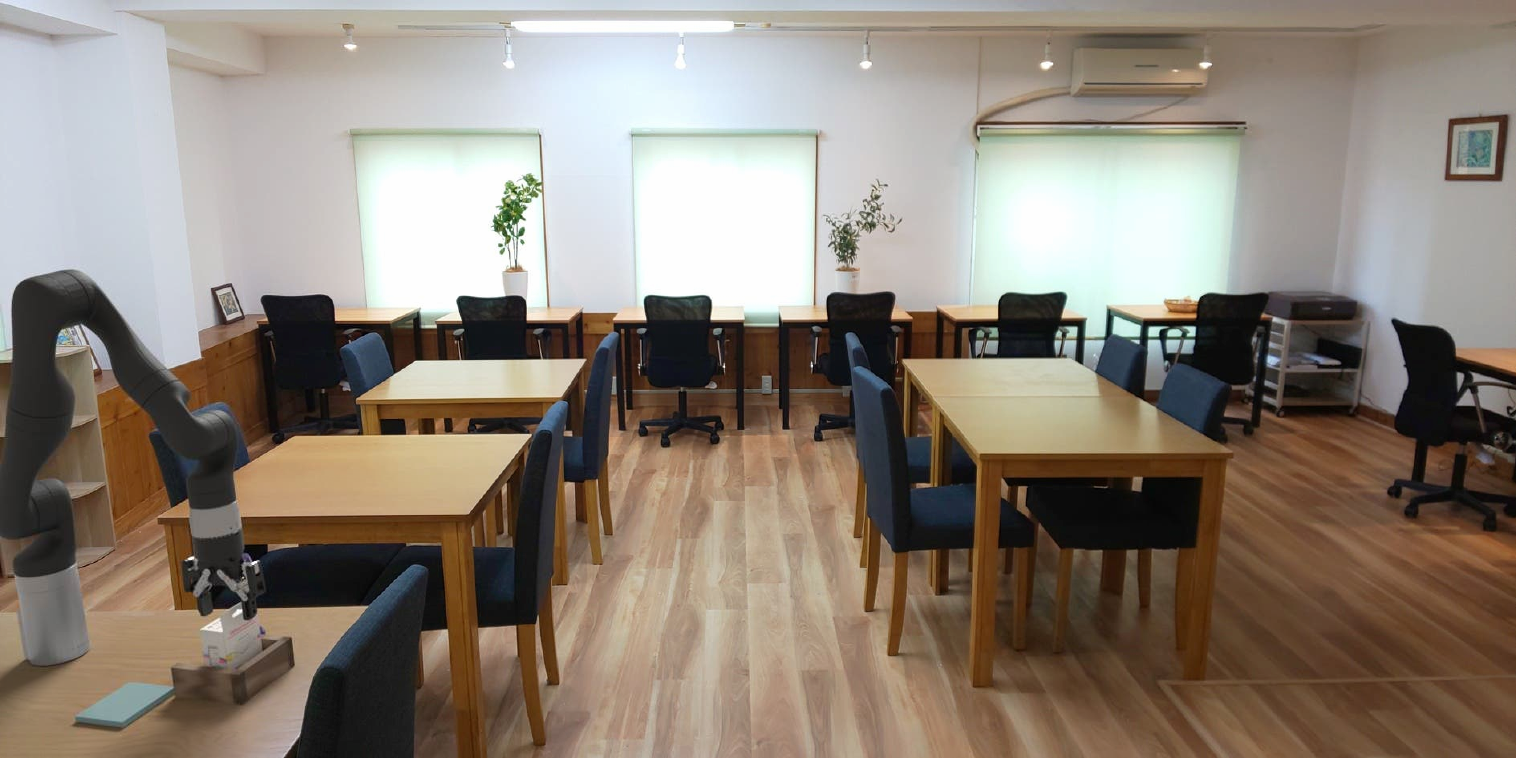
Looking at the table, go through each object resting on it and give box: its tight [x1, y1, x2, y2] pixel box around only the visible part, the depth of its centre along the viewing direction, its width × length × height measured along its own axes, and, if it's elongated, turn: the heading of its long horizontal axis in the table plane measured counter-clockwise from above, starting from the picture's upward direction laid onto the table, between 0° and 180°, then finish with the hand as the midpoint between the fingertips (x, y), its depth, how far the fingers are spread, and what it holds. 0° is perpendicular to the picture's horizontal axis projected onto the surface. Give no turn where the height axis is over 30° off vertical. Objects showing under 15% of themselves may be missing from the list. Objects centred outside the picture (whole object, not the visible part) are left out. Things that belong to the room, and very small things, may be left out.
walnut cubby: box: [170, 633, 296, 706], centre depth 169 cm, size 13×14×6 cm
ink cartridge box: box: [198, 601, 263, 670], centre depth 168 cm, size 9×5×15 cm, turn 168°
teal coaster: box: [74, 681, 175, 729], centre depth 162 cm, size 9×11×1 cm
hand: (228, 616), depth 167 cm, fingers open, 8 cm apart
